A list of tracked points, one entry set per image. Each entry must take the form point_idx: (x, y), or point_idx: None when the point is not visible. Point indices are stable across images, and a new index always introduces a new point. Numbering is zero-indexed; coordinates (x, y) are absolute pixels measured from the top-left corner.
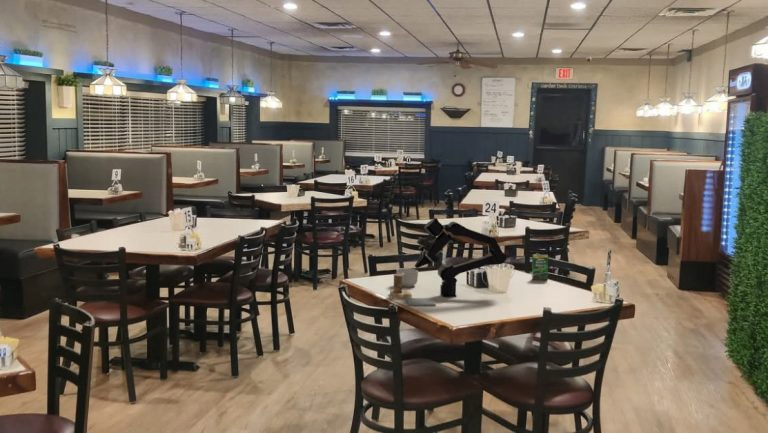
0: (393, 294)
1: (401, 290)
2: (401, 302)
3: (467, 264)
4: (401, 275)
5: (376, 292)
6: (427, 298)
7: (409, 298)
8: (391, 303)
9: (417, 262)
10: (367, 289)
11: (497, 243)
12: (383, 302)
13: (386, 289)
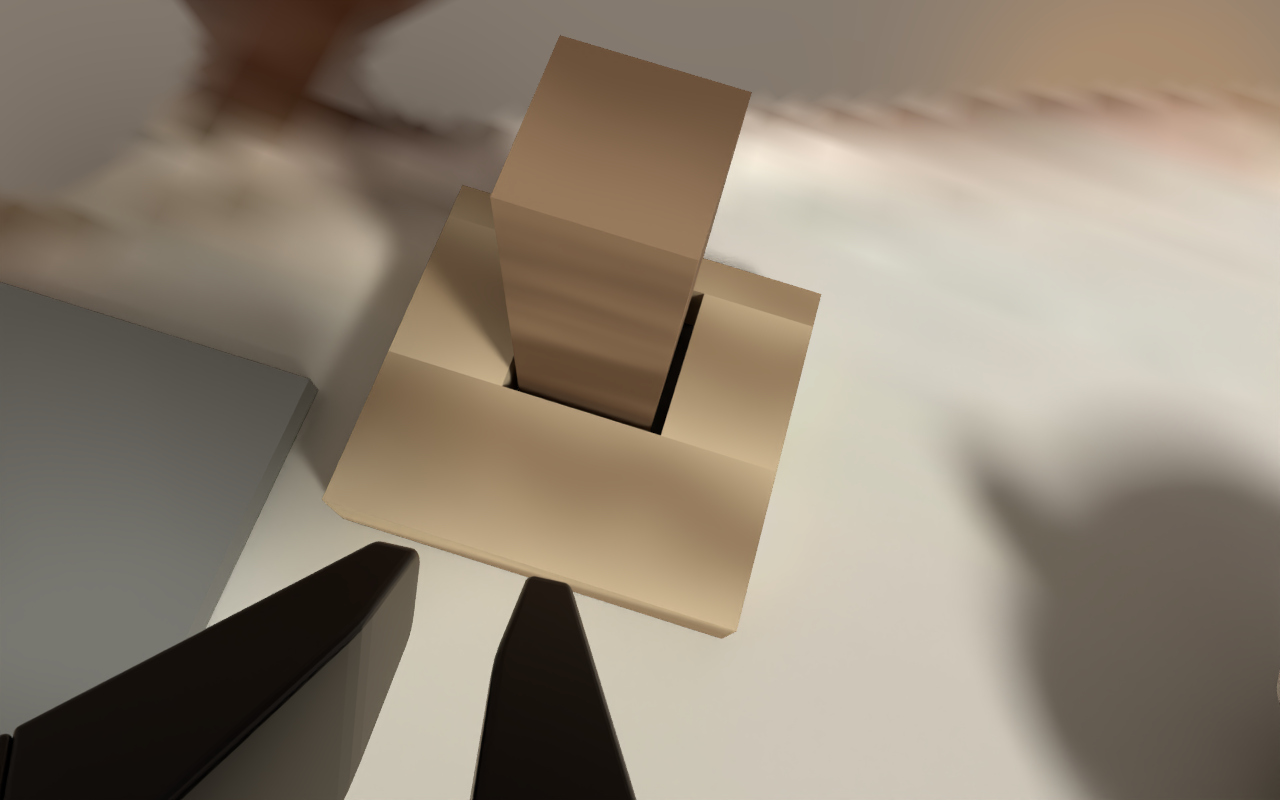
0: (457, 207)
1: (518, 355)
2: (189, 264)
3: None
4: (545, 201)
5: (946, 188)
6: None
7: (255, 429)
8: (202, 115)
9: (488, 725)
10: (1159, 149)
11: None
12: (310, 47)
13: (1137, 401)
